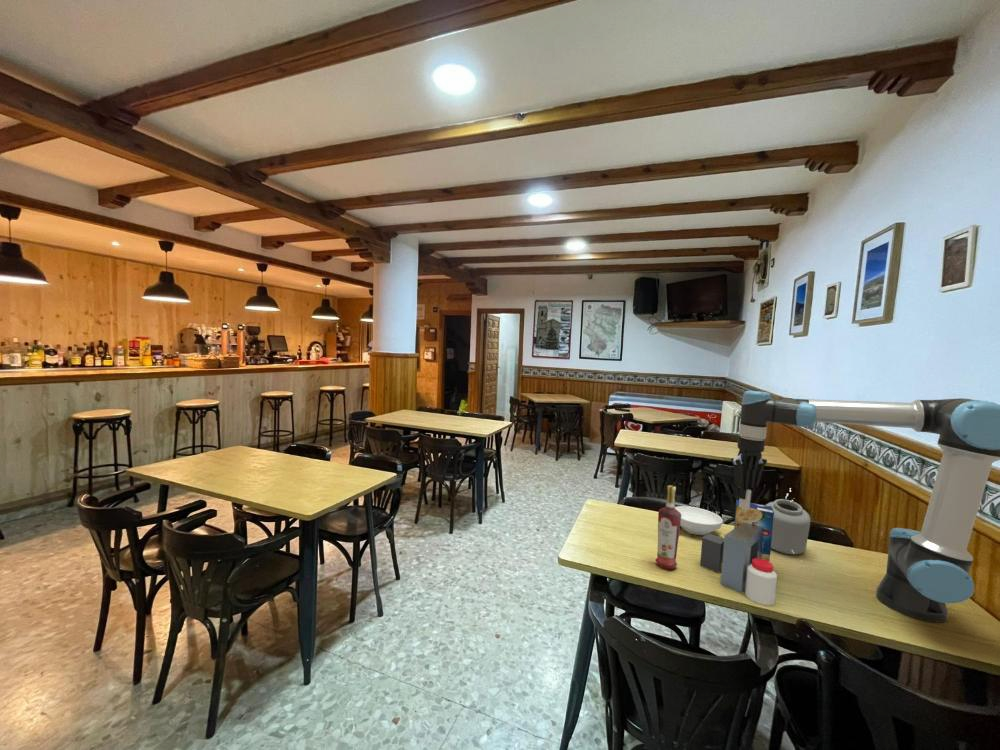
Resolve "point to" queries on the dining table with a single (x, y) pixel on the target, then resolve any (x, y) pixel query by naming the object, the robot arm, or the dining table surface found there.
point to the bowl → (698, 520)
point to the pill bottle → (761, 582)
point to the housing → (740, 554)
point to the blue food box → (758, 523)
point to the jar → (789, 527)
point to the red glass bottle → (668, 531)
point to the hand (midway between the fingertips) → (743, 508)
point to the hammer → (712, 552)
